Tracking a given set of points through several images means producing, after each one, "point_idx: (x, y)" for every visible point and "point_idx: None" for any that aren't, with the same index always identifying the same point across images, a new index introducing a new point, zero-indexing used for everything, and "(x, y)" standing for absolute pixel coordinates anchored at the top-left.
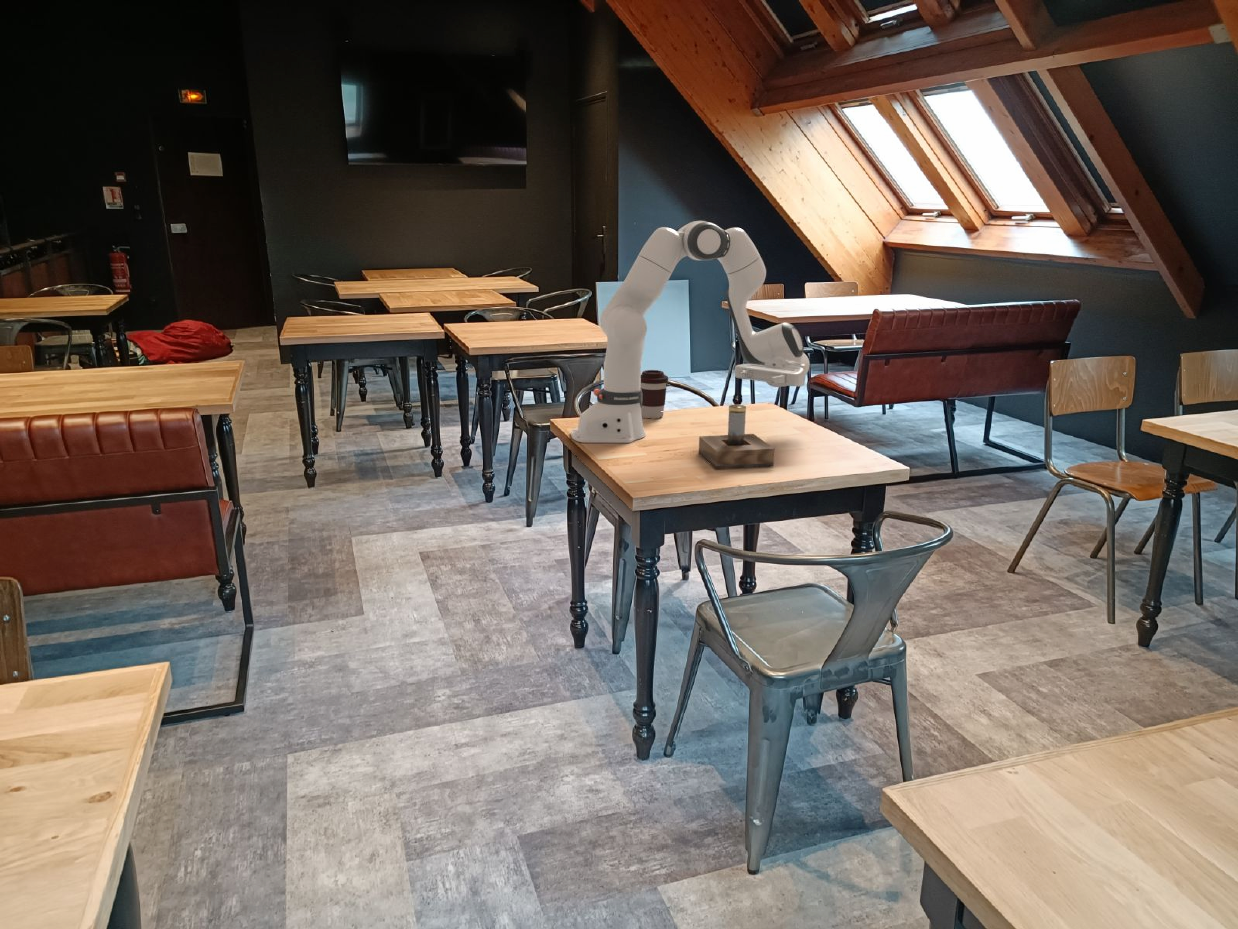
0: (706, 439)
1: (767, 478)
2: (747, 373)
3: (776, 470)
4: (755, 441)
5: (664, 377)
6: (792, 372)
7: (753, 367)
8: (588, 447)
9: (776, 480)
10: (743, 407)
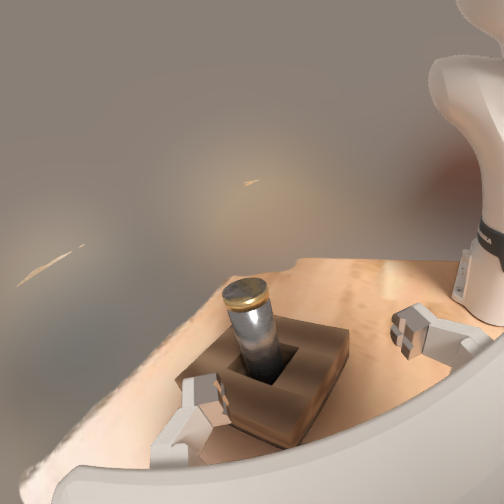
0: (320, 329)
1: (171, 356)
2: (410, 334)
3: (175, 390)
4: (235, 391)
5: None
6: (99, 497)
7: (482, 375)
8: (439, 263)
9: (157, 358)
10: (227, 294)
